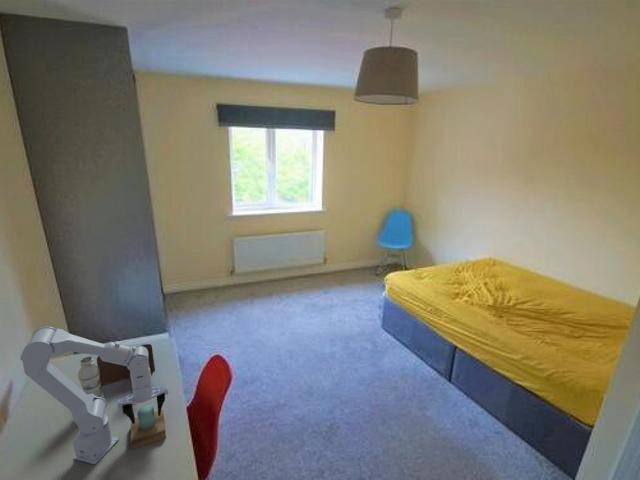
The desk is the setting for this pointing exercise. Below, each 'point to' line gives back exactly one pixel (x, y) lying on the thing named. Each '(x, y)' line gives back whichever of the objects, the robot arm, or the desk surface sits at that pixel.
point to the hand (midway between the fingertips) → (146, 417)
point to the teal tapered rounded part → (146, 417)
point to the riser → (148, 432)
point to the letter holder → (120, 369)
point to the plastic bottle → (90, 377)
